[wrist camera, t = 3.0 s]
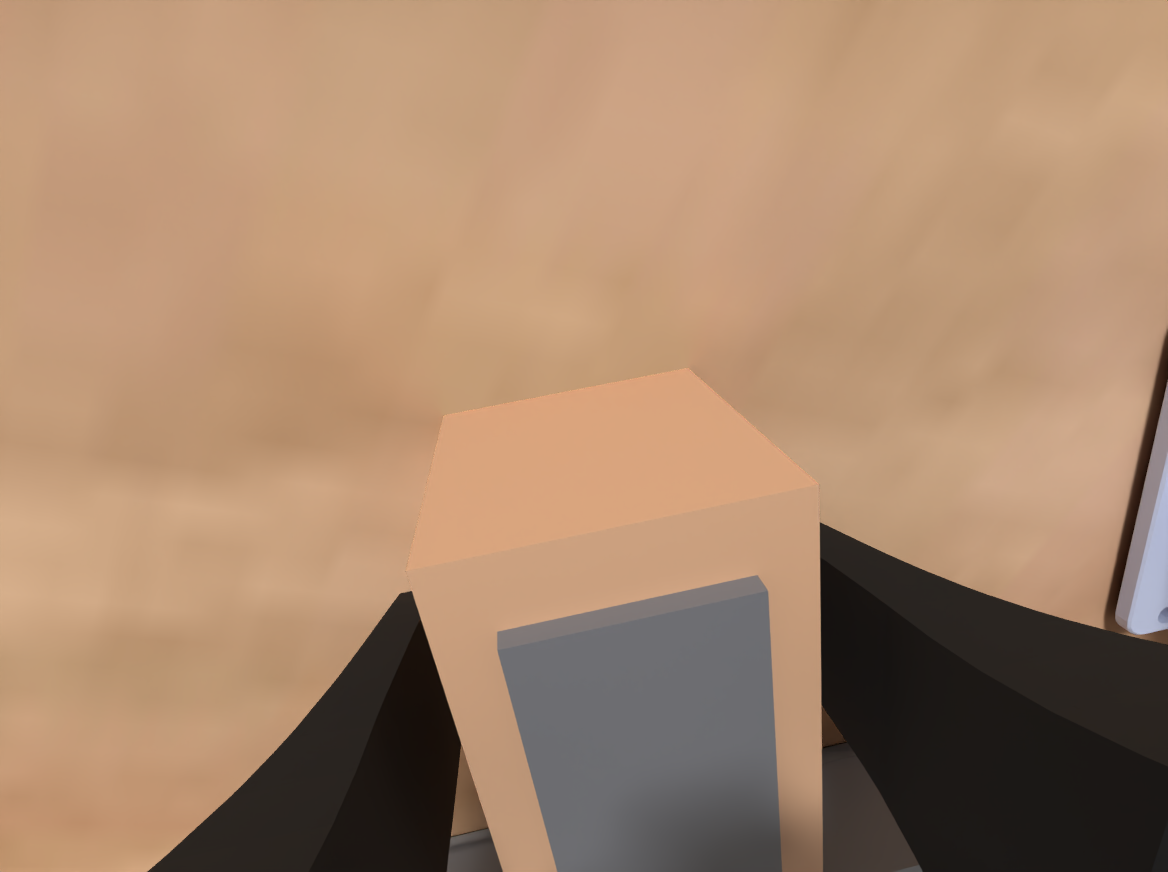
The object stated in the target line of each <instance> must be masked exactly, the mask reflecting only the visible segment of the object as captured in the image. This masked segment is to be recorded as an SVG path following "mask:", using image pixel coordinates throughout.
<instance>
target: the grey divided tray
mask: <svg viewBox="0 0 1168 872" xmlns="http://www.w3.org/2000/svg"><path fill="white" fill-rule="evenodd" d="M822 818H823V872H923V871H922V869H921V867H920V865H919V864H918V862H917V860H916V858H915V856H914V854H913V852H912V850H911V849H910V847H909V845H908V843H907V841H906V839H905V838H904V836H903V834H902V832H901V830H900V828H899V827H898V825H897V823H896V821H895V819H894V818H893V816H892V814H891V812H890V810H889V808H888V807H887V805H886V803H885V801H884V799H883V798H882V796H881V794H880V792H879V791H878V789H877V787H876V786H875V784H874V783H873V781H872V779H871V778H870V776H869V774H868V773H867V771H866V770H865V768H864V766H863V765H862V763H861V762H860V760H859V759H858V758H857V756H856V755H855V753H854V752H853V750H852V749H851V747H850V746H849V744H848V743H844V744H840V745H835V746H831V747H827V748H823V749H822ZM447 872H503V870H502V867H501V864H500V861H499V858H498V855H497V852H496V849H495V846H494V842H493V839H492V836H491V833H490V830H489V828H488V829H484V830H480V831H476V832H471V833H467V834H463V835H459V836H455V837H451V839H450V847H449V856H448V865H447Z"/></svg>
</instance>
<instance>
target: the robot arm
mask: <svg viewBox="0 0 1168 872" xmlns="http://www.w3.org/2000/svg"><path fill="white" fill-rule="evenodd" d="M820 607H821V704H822V706H823V707H824V709H825V710H826V712H827V713H828V715H829V716H830V718H831V719H832V721H833V722H834V724H835V725H836V726H837V728H838V729H839V731H840V732H841V734H842V735H843V737H844V738H845V740H846V741H847V743H848V744H849V746H850V747H851V749H852V750H853V752H854V753H855V755H856V756H857V758H858V759H859V760H860V762H861V763H862V765H863V766H864V768H865V770H866V771H867V773H868V774H869V776H870V778H871V779H872V781H873V783H874V784H875V786H876V787H877V789H878V791H879V792H880V794H881V796H882V798H883V799H884V801H885V803H886V805H887V807H888V808H889V810H890V812H891V814H892V816H893V818H894V819H895V821H896V823H897V825H898V827H899V828H900V830H901V832H902V834H903V836H904V838H905V839H906V841H907V843H908V845H909V847H910V849H911V850H912V852H913V854H914V856H915V858H916V860H917V862H918V864H919V865H920V867H921V869H922V871H923V872H1168V645H1166V644H1161V643H1157V642H1153V641H1148V640H1144V639H1140V638H1135V637H1131V636H1127V635H1123V634H1119V633H1115V632H1111V631H1107V630H1104V629H1100V628H1096V627H1092V626H1088V625H1085V624H1081V623H1077V622H1073V621H1069V620H1066V619H1062V618H1059V617H1055V616H1052V615H1049V614H1045V613H1042V612H1038V611H1035V610H1032V609H1029V608H1026V607H1023V606H1020V605H1017V604H1014V603H1011V602H1008V601H1005V600H1002V599H999V598H996V597H993V596H990V595H987V594H984V593H981V592H978V591H976V590H973V589H970V588H967V587H965V586H962V585H959V584H957V583H954V582H952V581H949V580H947V579H945V578H942V577H940V576H937V575H935V574H932V573H930V572H927V571H925V570H922V569H920V568H917V567H915V566H913V565H911V564H908V563H906V562H904V561H901V560H899V559H897V558H895V557H892V556H890V555H888V554H886V553H884V552H881V551H879V550H877V549H875V548H873V547H871V546H868V545H866V544H864V543H862V542H860V541H858V540H856V539H854V538H852V537H849V536H847V535H845V534H843V533H841V532H839V531H837V530H835V529H833V528H831V527H829V526H827V525H824V524H822V523H820ZM1115 620H1116V622H1117V623H1118V625H1120V626H1121V627H1123V628H1124V629H1126V630H1127V631H1129V632H1130V633H1133V634H1135V635H1139V634H1147V633H1152V632H1156V631H1160V630H1164V629H1168V381H1167V386H1166V390H1165V395H1164V399H1163V404H1162V408H1161V412H1160V417H1159V421H1158V426H1157V430H1156V434H1155V439H1154V443H1153V448H1152V452H1151V457H1150V461H1149V465H1148V470H1147V474H1146V479H1145V483H1144V488H1143V492H1142V496H1141V501H1140V505H1139V510H1138V514H1137V518H1136V523H1135V527H1134V532H1133V536H1132V541H1131V545H1130V549H1129V554H1128V558H1127V563H1126V567H1125V572H1124V576H1123V580H1122V585H1121V589H1120V594H1119V598H1118V603H1117V607H1116V611H1115ZM460 749H461V741H460V738H459V735H458V732H457V728H456V725H455V722H454V719H453V716H452V713H451V710H450V707H449V704H448V701H447V698H446V695H445V692H444V688H443V685H442V682H441V679H440V676H439V673H438V670H437V667H436V664H435V661H434V658H433V655H432V651H431V648H430V645H429V642H428V639H427V636H426V633H425V630H424V627H423V624H422V621H421V618H420V615H419V611H418V608H417V605H416V602H415V599H414V596H413V593H412V591H410V592H406V593H401V594H399V596H398V597H397V598H396V600H395V601H394V602H393V604H392V605H391V606H390V608H389V609H388V610H387V612H386V613H385V615H384V616H383V617H382V619H381V620H380V621H379V623H378V624H377V626H376V627H375V628H374V630H373V631H372V633H371V634H370V635H369V637H368V638H367V639H366V641H365V642H364V643H363V645H362V646H361V648H360V649H359V650H358V652H357V653H356V654H355V656H354V657H353V658H352V660H351V661H350V662H349V664H348V665H347V666H346V668H345V669H344V670H343V671H342V673H341V674H340V675H339V677H338V678H337V679H336V681H335V682H334V683H333V684H332V685H331V687H330V688H329V689H328V690H327V691H326V693H325V694H324V695H323V696H322V698H321V699H320V700H319V701H318V702H317V704H316V705H315V706H314V707H313V708H312V710H311V711H310V712H309V713H308V714H307V716H306V717H305V718H304V719H303V720H302V722H301V723H300V724H299V725H298V726H297V728H296V729H295V730H294V731H293V732H292V733H291V734H290V735H289V737H288V738H287V739H286V740H285V741H284V742H283V743H282V744H281V745H280V746H279V748H278V749H277V750H276V751H275V752H274V753H273V754H272V755H271V756H270V757H269V758H268V759H267V760H266V761H265V762H264V763H263V764H262V765H261V766H260V767H259V769H258V770H257V771H256V772H255V773H254V774H253V775H252V776H251V777H250V778H249V779H248V780H247V781H246V782H245V783H244V784H243V785H242V786H241V787H240V788H239V789H238V790H237V791H236V792H235V793H234V794H233V795H232V796H231V797H230V798H229V799H228V800H226V801H225V802H224V803H223V804H222V805H221V806H220V807H219V808H218V809H217V810H216V811H214V812H213V813H212V814H211V815H210V816H209V817H208V818H207V819H206V820H205V821H204V822H202V823H201V824H200V825H199V826H198V827H197V828H196V829H195V830H194V831H193V832H192V833H190V834H189V835H188V836H187V837H186V838H185V839H184V840H183V841H182V842H181V843H180V844H178V845H177V846H176V847H175V848H174V849H173V850H172V851H171V852H170V853H169V854H168V855H166V856H165V857H164V858H163V859H162V860H161V861H159V862H158V863H157V864H156V865H155V866H154V867H152V868H151V869H150V870H149V871H148V872H447V865H448V856H449V847H450V839H451V830H452V821H453V812H454V803H455V794H456V785H457V777H458V767H459V758H460Z"/></svg>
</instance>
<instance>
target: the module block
mask: <svg viewBox="0 0 1168 872" xmlns="http://www.w3.org/2000/svg"><path fill="white" fill-rule="evenodd" d="M406 574H407V578H408V581H409V584H410V587H411V590H412V593H413V596H414V599H415V602H416V605H417V608H418V611H419V615H420V618H421V621H422V624H423V627H424V630H425V633H426V636H427V639H428V642H429V645H430V648H431V651H432V655H433V658H434V661H435V664H436V667H437V670H438V673H439V676H440V679H441V682H442V685H443V688H444V692H445V695H446V698H447V701H448V704H449V707H450V710H451V713H452V716H453V719H454V722H455V725H456V728H457V732H458V735H459V738H460V741H461V744H462V747H463V750H464V753H465V756H466V759H467V762H468V765H469V769H470V772H471V775H472V778H473V781H474V784H475V787H476V790H477V793H478V796H479V799H480V802H481V805H482V809H483V812H484V815H485V818H486V821H487V824H488V827H489V830H490V833H491V836H492V839H493V842H494V846H495V849H496V852H497V855H498V858H499V861H500V864H501V867H502V870H503V872H823V818H822V713H821V607H820V501H819V484H818V483H817V482H816V481H815V480H814V479H813V478H811V477H810V476H809V475H808V474H807V473H806V472H805V471H804V470H802V469H801V468H800V467H799V466H798V465H797V464H796V463H795V462H793V461H792V460H791V459H790V458H789V457H788V456H787V455H786V454H784V453H783V452H782V451H781V450H780V449H779V448H778V447H777V446H775V445H774V444H773V443H772V442H771V441H770V440H769V439H768V438H766V437H765V436H764V435H763V434H762V433H761V432H760V431H759V430H757V429H756V428H755V427H754V426H753V425H752V424H751V423H749V422H748V421H747V420H746V419H745V418H744V417H743V416H742V415H740V414H739V413H738V412H737V411H736V410H735V409H734V408H733V407H731V406H730V405H729V404H728V403H727V402H726V401H725V400H724V399H722V398H721V397H720V396H719V395H718V394H717V393H716V392H715V391H713V390H712V389H711V388H710V387H709V386H708V385H707V384H706V383H704V382H703V381H702V380H701V379H700V378H699V377H698V376H697V375H695V374H694V373H693V372H692V371H691V370H690V369H689V368H685V369H680V370H675V371H669V372H664V373H659V374H654V375H649V376H644V377H639V378H633V379H628V380H623V381H618V382H613V383H608V384H602V385H597V386H592V387H587V388H582V389H577V390H571V391H566V392H561V393H556V394H551V395H546V396H541V397H535V398H530V399H525V400H520V401H515V402H510V403H504V404H499V405H494V406H489V407H484V408H479V409H474V410H468V411H463V412H458V413H453V414H448V415H444V416H443V420H442V424H441V428H440V432H439V436H438V440H437V444H436V448H435V452H434V456H433V461H432V465H431V469H430V473H429V477H428V481H427V485H426V489H425V493H424V497H423V501H422V506H421V510H420V514H419V518H418V522H417V526H416V530H415V534H414V538H413V542H412V546H411V551H410V555H409V559H408V563H407V567H406Z"/></svg>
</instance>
